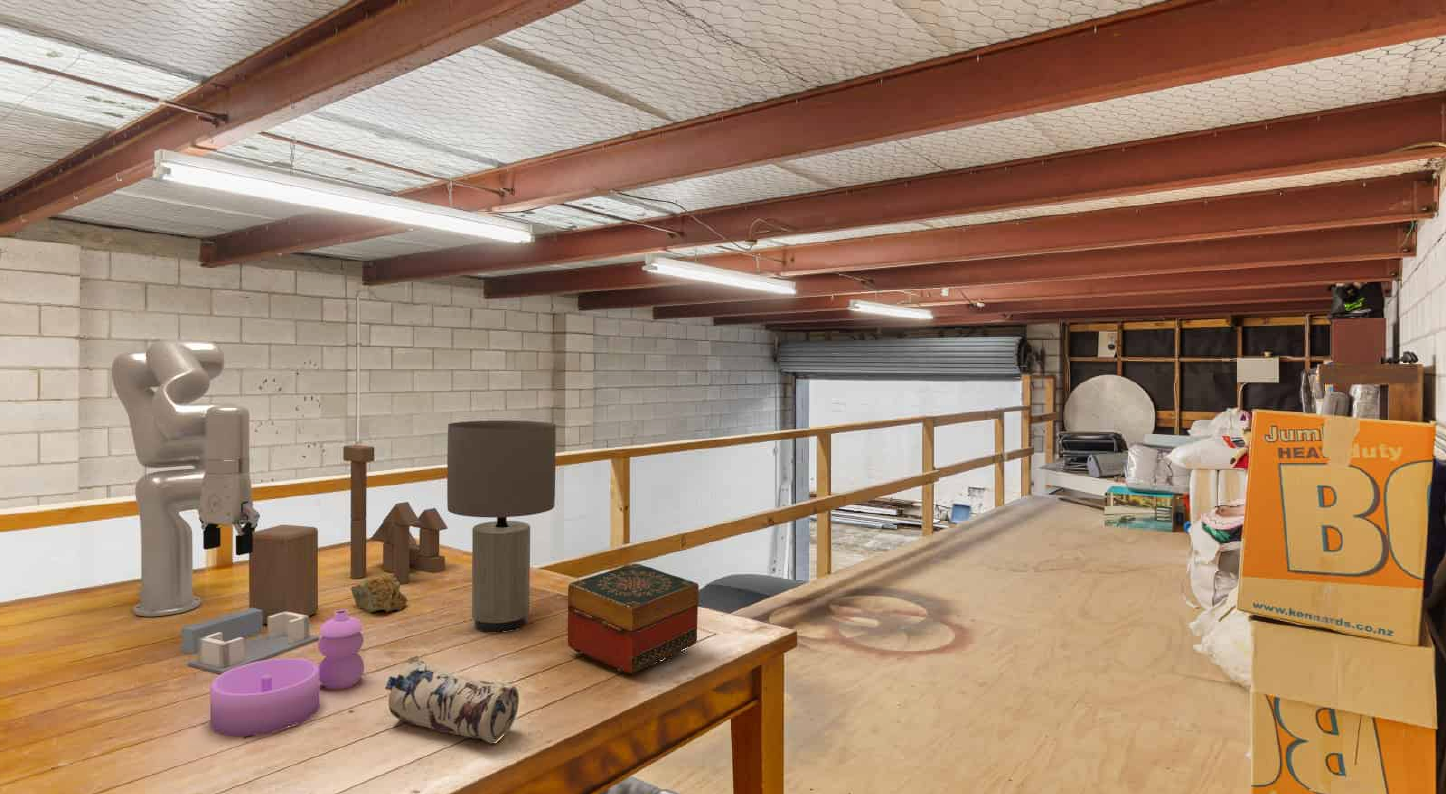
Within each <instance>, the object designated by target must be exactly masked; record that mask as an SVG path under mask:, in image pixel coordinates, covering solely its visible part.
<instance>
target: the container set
mask: <svg viewBox="0 0 1446 794" xmlns="http://www.w3.org/2000/svg"><path fill="white" fill-rule="evenodd" d="M333 616H334V617H333V618H330V619H328V620H327V621H325V622H324V623H323V624H322V625H321V626H320V629H319V631H320V634H321V635H320V636H321V637H320V638H319V640H318V644H317V648H318V651H319V652H320V654H322V656H324V658H323V659H322V660H321V662H320V664H318V663H317V662H315V661H314V660H310V659H306V658H300V657H298V658H297V657H284V658H282V657H281V658H280V657H279V658H269V659H265V660H262V661H258V662H253V663H249V664H245V665H242V666H239V667H236V668H233V669H231V670H228V671H226V672H224V673H222V674H218V676H216V677H215V678H214V679H213V680H212V681H211V683H210V688H209V691H210V692H209V693H210V697H209V698H210V699H209V700H210V702H209V703H210V704H209V705H210V706H209V707H210V708H209V709H210V710H209V711H210V716H209V717H210V723H209V724H210V728H211V730H213V731H214V732H215V733H217V734H220V735H223V736H228V735H233V736H232V737H250V736H249V735H252V736H259V735H258V734H261V735H263V734H262V733H266V734H270V733H274V732H273V731H275V732H277V731H276V730H279V731H282V730H281V729H283V728H286V727H288V726H292V725H294V724H296V723H299V724H301V723H303V722H304V721H306V720H308V719H310V718H311V717H313V714H314V715H315V714H316V713H317V712H318V710H319V708H320V684H322V685H323V686H324V687H325V688H327V689H328V690H343V689H344V690H345V689H347V688H351V687H352V686H354V685H355V684H357V682H358V681H359V680H360V679H361V678H362V675H363V673H364V671H365V664H364V660H363V658H362V657H361V655H360V654H359V653H358V652H359V651H360V650H361V648H362V647H363V644H364V642H365V640H364V635H363V634H362V633H361V629H362V627H363V623H362V621H361V620H360V619H359V618H356V617H353V616H349V610H348V609H338V610H336V611H334V615H333ZM316 711H317V712H316ZM310 716H311V717H310ZM300 722H301V723H300ZM296 725H297V724H296ZM294 726H295V725H294ZM292 727H293V726H292ZM286 729H287V728H286ZM283 730H284V729H283ZM256 734H257V735H256Z"/></svg>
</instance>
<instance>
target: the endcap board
mask: <svg viewBox="0 0 1446 794" xmlns="http://www.w3.org/2000/svg"><path fill="white" fill-rule="evenodd" d="M317 641H320V636H317V635H311V634H310V616H306V615H301V614H296V613H291V612H287V611H285V612H282V613H278V614H275V615H272V616H269V617H268V624H267V635H264V636H261V637H259V638H258V637H257V638H255V639H252V640H249V641H247V642H245V638H242V637H239V638H236V639H233V640H230V641H227V642H224V641H223V633H221V632H218V633H215V634H212V635H209V636H205V637H202V638H199V639H198V653H197V656H198V657H197V658H195V659H193V660H190V661H188V662H187V666H188V667H192V668H196V669H200V670H203V671H208V672H210V673H214V674H218V675H220V674H222V673H224V672H226V671H228V670H231V669H233V668H236V667H239V666H242V665H245V664H249V663H253V662H258V661H263V660H269V659H272V658H274V657H275V656H279V655H282V654H284V653H286V652H290V651H292V650H294V649H295V650H296V649H298V648H300V647H304V646H306V645H308V644H311V643H314V642H317Z"/></svg>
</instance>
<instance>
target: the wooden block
mask: <svg viewBox="0 0 1446 794" xmlns="http://www.w3.org/2000/svg"><path fill="white" fill-rule="evenodd" d="M248 604H249V605H248V609H249V608H256V609H260V610H263V624H264V625H268V617H269V616H272V615H275V614H278V613H282V612H285V611H287V612H291V613H296V614H301V615H306V616H309V617H310V616H313V615H314V614H316V613H318V610H319V530H318V527H315V526H307V525H306V526H305V525H293V524H291V525H290V524H280V525H275V526H272V527H269V528H263V529H260V530H257V531H256V530H255V532H254V533H253V552H251V553H248Z"/></svg>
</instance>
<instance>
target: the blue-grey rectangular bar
mask: <svg viewBox="0 0 1446 794" xmlns="http://www.w3.org/2000/svg"><path fill="white" fill-rule="evenodd" d="M263 626H264V625H263V610H260V609H256V608H249V607H248V608H245V609H242V610H239V611H235V612H232V613H228V614H224V615H221V616H216V617H214V618H210V619H207V620H204V621H200V622H196V623H194V624H189V625H187V626H186V625H185V626H182V628H181V631H182V632H181V636H182V637H181V640H182V641H181V647H182V648H181V649H182V652H183V653H186V654H189V655H190V654H191V655H193V656H195V655H198V639H199V638H202V637H205V636H209V635H212V634H215V633H218V632H221V633H223V641H224V642H227V641H230V640H233V639H236V638H239V637H242V638H244V639H246V638H250V637H253V636H256V635H260V634H262V633H263V630H264V629H263Z"/></svg>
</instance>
